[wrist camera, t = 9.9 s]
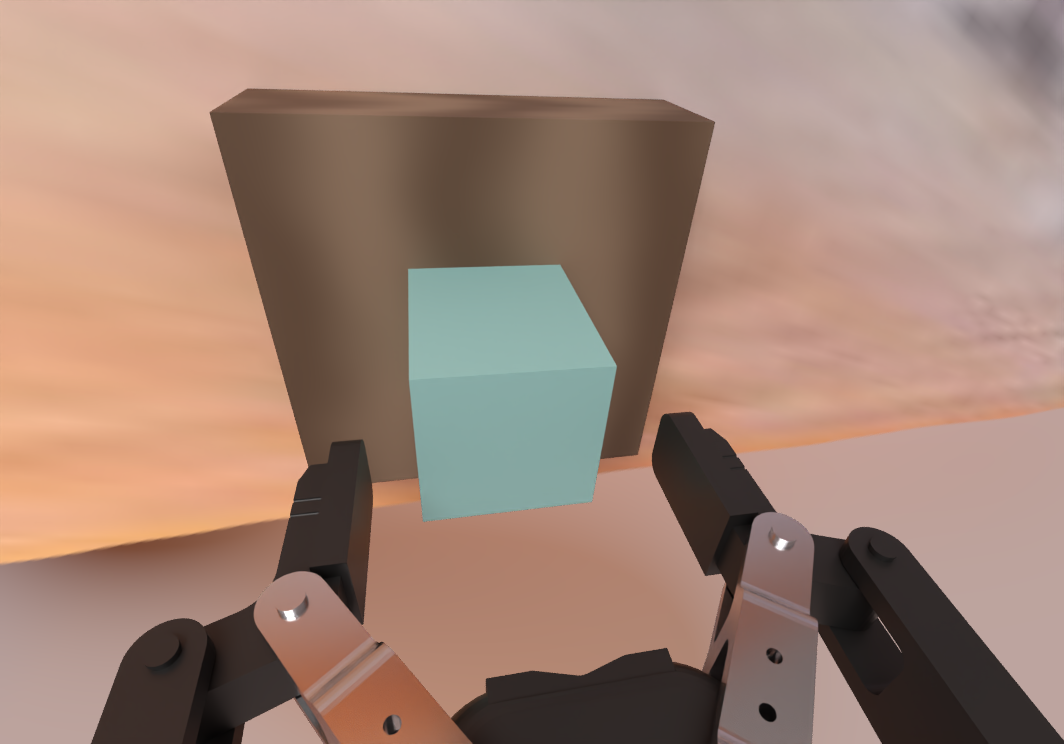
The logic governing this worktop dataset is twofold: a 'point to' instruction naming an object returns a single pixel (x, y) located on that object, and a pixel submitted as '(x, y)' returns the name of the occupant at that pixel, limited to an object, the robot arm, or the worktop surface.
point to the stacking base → (452, 234)
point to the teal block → (504, 390)
